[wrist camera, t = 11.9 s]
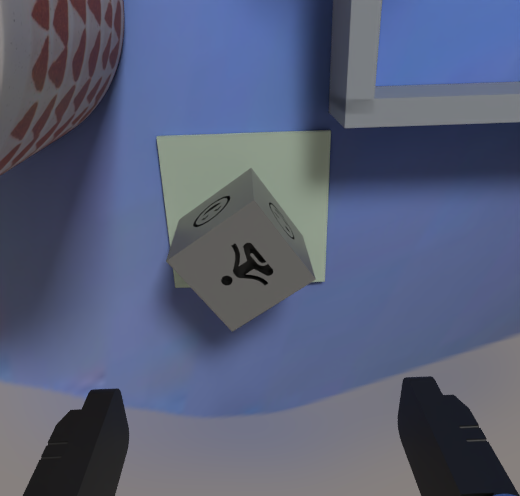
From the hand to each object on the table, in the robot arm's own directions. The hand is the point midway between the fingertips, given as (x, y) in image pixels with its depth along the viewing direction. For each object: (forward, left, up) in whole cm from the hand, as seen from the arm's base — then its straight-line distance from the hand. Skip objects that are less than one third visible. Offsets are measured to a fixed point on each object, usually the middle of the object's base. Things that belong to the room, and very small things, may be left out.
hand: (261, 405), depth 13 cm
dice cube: (+1, +1, -14) cm, 14 cm away
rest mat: (0, 0, -14) cm, 14 cm away
